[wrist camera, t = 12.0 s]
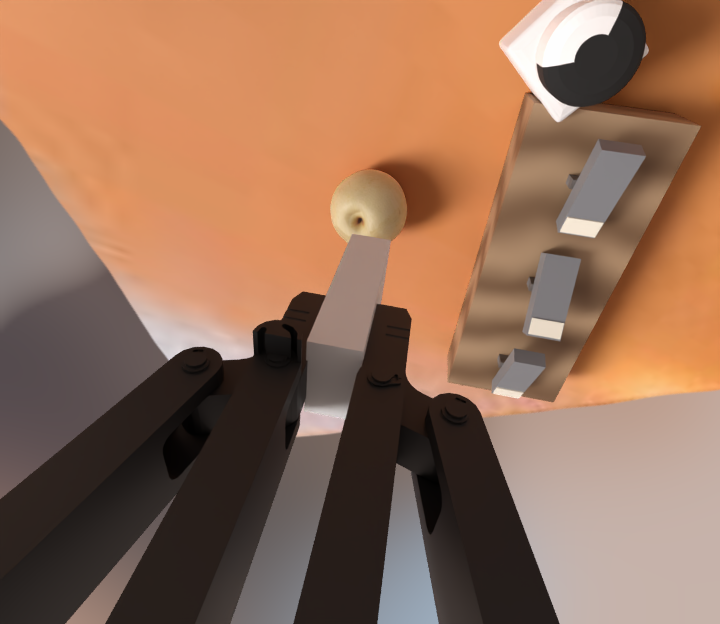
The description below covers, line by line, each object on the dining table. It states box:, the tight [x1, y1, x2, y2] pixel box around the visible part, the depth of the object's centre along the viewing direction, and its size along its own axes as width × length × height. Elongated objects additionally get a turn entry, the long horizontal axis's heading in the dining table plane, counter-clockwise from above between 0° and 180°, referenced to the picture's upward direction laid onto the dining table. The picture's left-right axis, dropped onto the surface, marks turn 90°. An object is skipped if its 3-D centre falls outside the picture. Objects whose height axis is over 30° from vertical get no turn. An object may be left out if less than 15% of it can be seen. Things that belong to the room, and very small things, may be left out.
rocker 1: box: [492, 348, 546, 399], centre depth 48 cm, size 8×3×2 cm, turn 173°
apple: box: [330, 169, 407, 243], centre depth 45 cm, size 8×8×8 cm
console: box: [448, 93, 701, 402], centre depth 45 cm, size 32×13×6 cm, turn 174°
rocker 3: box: [556, 139, 646, 238], centre depth 36 cm, size 8×3×2 cm, turn 173°
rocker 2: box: [522, 253, 581, 341], centre depth 42 cm, size 8×3×2 cm, turn 175°
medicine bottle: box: [499, 0, 649, 122], centre depth 32 cm, size 7×7×12 cm
